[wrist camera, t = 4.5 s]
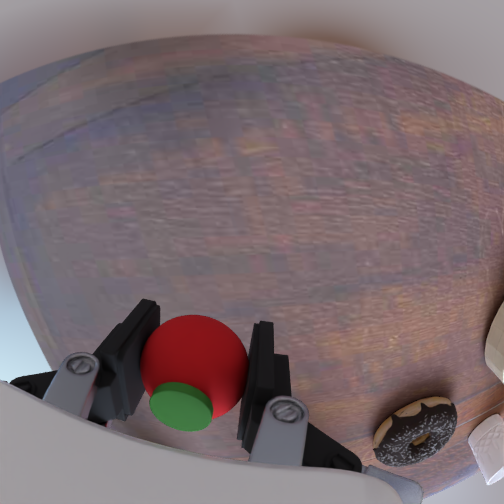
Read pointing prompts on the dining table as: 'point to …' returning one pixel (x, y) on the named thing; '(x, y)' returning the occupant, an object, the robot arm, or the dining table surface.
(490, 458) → the white cup
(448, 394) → the dining table surface
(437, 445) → the donut
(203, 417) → the tomato
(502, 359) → the bowl
